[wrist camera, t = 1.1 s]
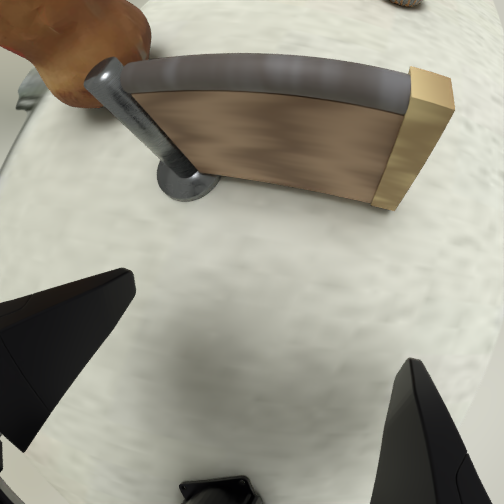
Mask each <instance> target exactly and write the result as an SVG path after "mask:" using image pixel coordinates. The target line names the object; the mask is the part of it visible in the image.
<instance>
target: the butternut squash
mask: <svg viewBox="0 0 504 504" xmlns="http://www.w3.org/2000/svg"><path fill="white" fill-rule="evenodd" d="M150 45H151V29H150V26H149V23H148V21H147V19H146V17H145V16H144V14H143V13H142V11H141V10H140V9H138V8H137V7H136V6H134V5H133V4H131V3H130V2H128V1H126V0H0V46H1V47H3V48H5V49H7V50H9V51H11V52H13V53H15V54H17V55H19V56H21V57H23V58H26V59H27V60H29V61H30V62H31V63H32V64H33V65H34V66H35V67H36V69H37V71H38V72H39V74H40V76H41V78H42V79H43V81H44V82H45V84H46V86H47V87H48V89H49V90H50V91H51V92H52V94H53V95H54V96H55V97H56V98H58V99H59V100H60V101H61V102H63V103H65V104H67V105H69V106H72V107H78V108H100V107H103V105H102V104H101V103H100V102H99V101H98V100H97V99H96V98H95V97H94V96H93V95H92V94H91V93H90V92H89V91H88V90H87V89H85V87H84V80H85V78H86V76H87V74H88V73H89V72H90V71H91V69H92V68H93V67H94V66H95V65H97V64H98V63H99V62H101V61H102V60H104V59H106V58H109V57H116V58H117V59H118V60H119V61H120V62H121V63H122V65H123V66H125V65H126V64H128V63H131V62H137V61H143V60H149V51H150Z"/></svg>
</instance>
